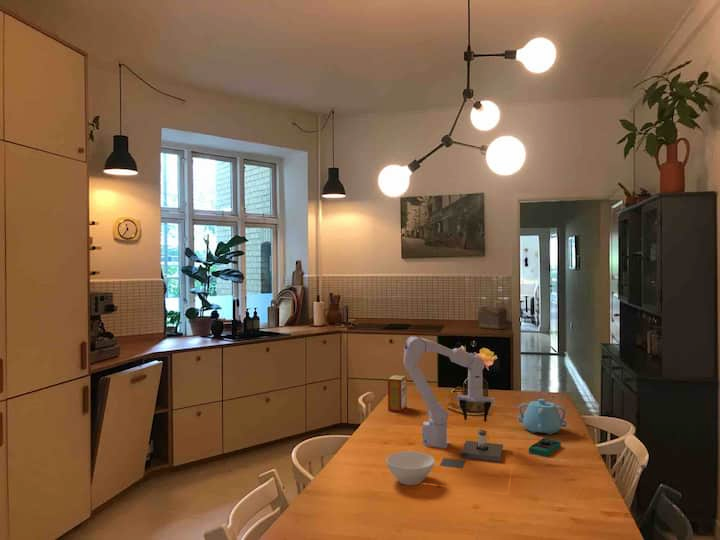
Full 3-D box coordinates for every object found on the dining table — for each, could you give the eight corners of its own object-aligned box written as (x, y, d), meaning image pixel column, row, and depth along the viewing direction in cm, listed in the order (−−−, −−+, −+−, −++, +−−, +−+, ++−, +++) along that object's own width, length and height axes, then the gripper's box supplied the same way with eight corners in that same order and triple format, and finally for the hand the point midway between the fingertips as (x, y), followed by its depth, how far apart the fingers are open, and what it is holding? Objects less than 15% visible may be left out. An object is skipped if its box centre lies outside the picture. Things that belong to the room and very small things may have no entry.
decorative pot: (536, 438, 221) (536, 405, 221) (514, 427, 237) (514, 396, 236) (570, 435, 226) (570, 402, 225) (546, 424, 241) (547, 393, 241)
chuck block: (460, 459, 198) (460, 452, 198) (466, 447, 211) (466, 440, 211) (500, 463, 193) (500, 456, 193) (503, 450, 206) (503, 444, 206)
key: (477, 455, 201) (477, 431, 201) (479, 453, 204) (479, 429, 204) (485, 457, 200) (485, 432, 200) (487, 454, 203) (487, 430, 202)
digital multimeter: (561, 447, 211) (561, 440, 211) (547, 458, 200) (547, 450, 200) (543, 443, 216) (543, 436, 216) (528, 453, 204) (528, 446, 204)
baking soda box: (400, 412, 262) (400, 379, 262) (388, 410, 264) (387, 378, 264) (406, 407, 271) (406, 375, 270) (394, 406, 273) (393, 374, 273)
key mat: (439, 467, 190) (439, 465, 190) (443, 459, 198) (443, 457, 198) (462, 469, 187) (462, 468, 187) (465, 461, 195) (465, 460, 195)
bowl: (438, 474, 183) (438, 454, 183) (429, 493, 168) (428, 471, 168) (393, 469, 188) (393, 449, 188) (379, 487, 173) (379, 465, 173)
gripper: (455, 387, 213) (455, 421, 213) (493, 389, 208) (493, 424, 208) (458, 383, 220) (458, 416, 220) (494, 385, 215) (494, 419, 215)
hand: (475, 420), depth 214 cm, fingers open, 7 cm apart
